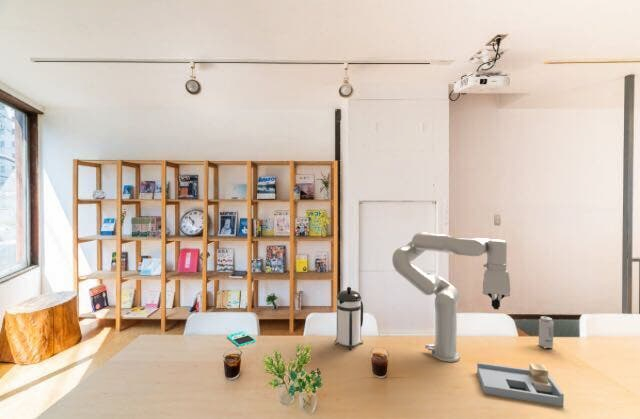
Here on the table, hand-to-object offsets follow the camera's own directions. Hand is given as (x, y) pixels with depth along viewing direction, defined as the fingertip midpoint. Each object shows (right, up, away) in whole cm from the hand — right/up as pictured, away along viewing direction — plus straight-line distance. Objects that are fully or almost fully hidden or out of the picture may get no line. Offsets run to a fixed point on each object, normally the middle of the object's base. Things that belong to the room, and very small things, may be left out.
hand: (495, 308), depth 142 cm
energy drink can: (+38, -27, +22) cm, 52 cm away
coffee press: (-63, -26, +26) cm, 73 cm away
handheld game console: (-120, -27, +30) cm, 127 cm away
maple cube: (+10, -25, -13) cm, 30 cm away
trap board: (+1, -28, -14) cm, 31 cm away
